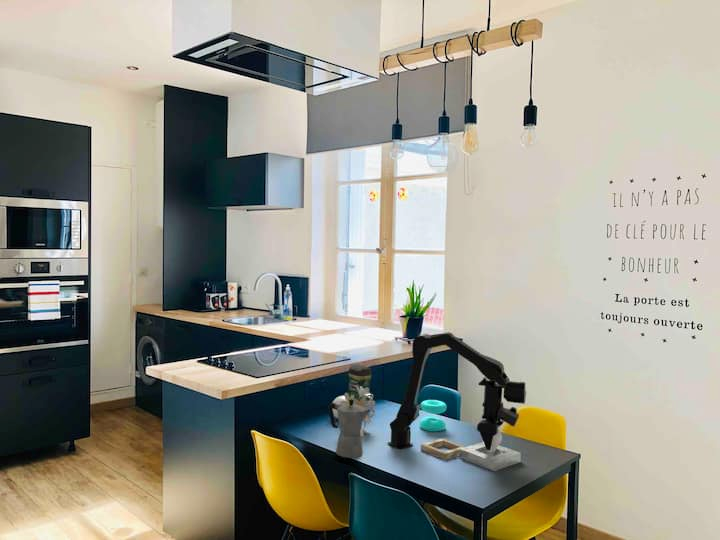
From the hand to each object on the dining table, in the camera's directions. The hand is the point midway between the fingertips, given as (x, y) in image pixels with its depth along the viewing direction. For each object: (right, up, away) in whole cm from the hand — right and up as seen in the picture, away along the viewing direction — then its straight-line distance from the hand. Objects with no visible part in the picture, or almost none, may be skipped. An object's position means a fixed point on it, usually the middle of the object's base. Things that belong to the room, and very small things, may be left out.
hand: (490, 446), depth 194 cm
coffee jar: (-44, -1, +54) cm, 70 cm away
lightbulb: (0, -5, 0) cm, 5 cm away
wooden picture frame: (-15, -4, +6) cm, 16 cm away
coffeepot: (-48, -3, +2) cm, 48 cm away
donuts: (-15, -3, +32) cm, 35 cm away
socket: (0, -5, 0) cm, 4 cm away
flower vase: (-47, -2, +30) cm, 56 cm away
